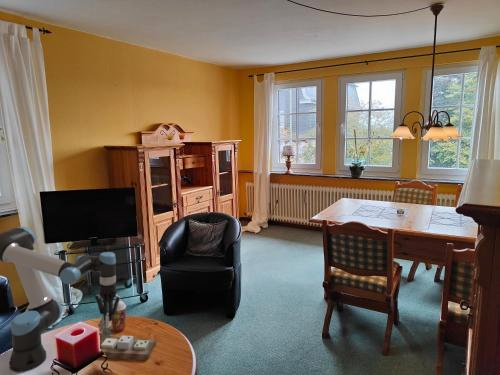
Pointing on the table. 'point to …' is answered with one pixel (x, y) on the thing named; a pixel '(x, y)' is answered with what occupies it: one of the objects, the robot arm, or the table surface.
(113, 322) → the smoothie
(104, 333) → the figurine
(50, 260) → the robot arm
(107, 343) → the die
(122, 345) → the die
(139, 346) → the die
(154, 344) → the board
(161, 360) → the table surface
